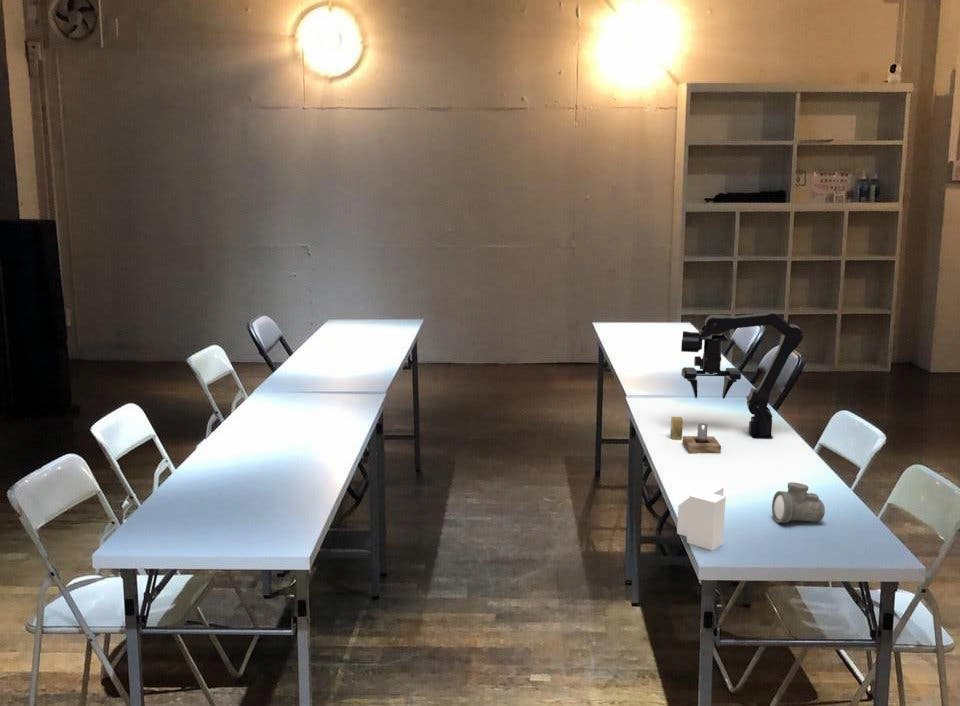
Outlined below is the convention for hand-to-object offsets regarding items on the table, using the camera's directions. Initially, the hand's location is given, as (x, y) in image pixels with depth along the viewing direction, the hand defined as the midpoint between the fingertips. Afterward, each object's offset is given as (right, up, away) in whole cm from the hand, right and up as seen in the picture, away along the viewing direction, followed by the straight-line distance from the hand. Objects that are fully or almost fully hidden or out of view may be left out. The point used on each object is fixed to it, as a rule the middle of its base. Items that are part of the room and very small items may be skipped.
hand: (709, 398), depth 312 cm
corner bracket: (-23, -30, -84) cm, 92 cm away
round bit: (-6, -15, -15) cm, 22 cm away
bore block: (-6, -15, -15) cm, 22 cm away
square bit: (-12, -13, -4) cm, 18 cm away
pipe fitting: (+4, -28, -74) cm, 79 cm away
